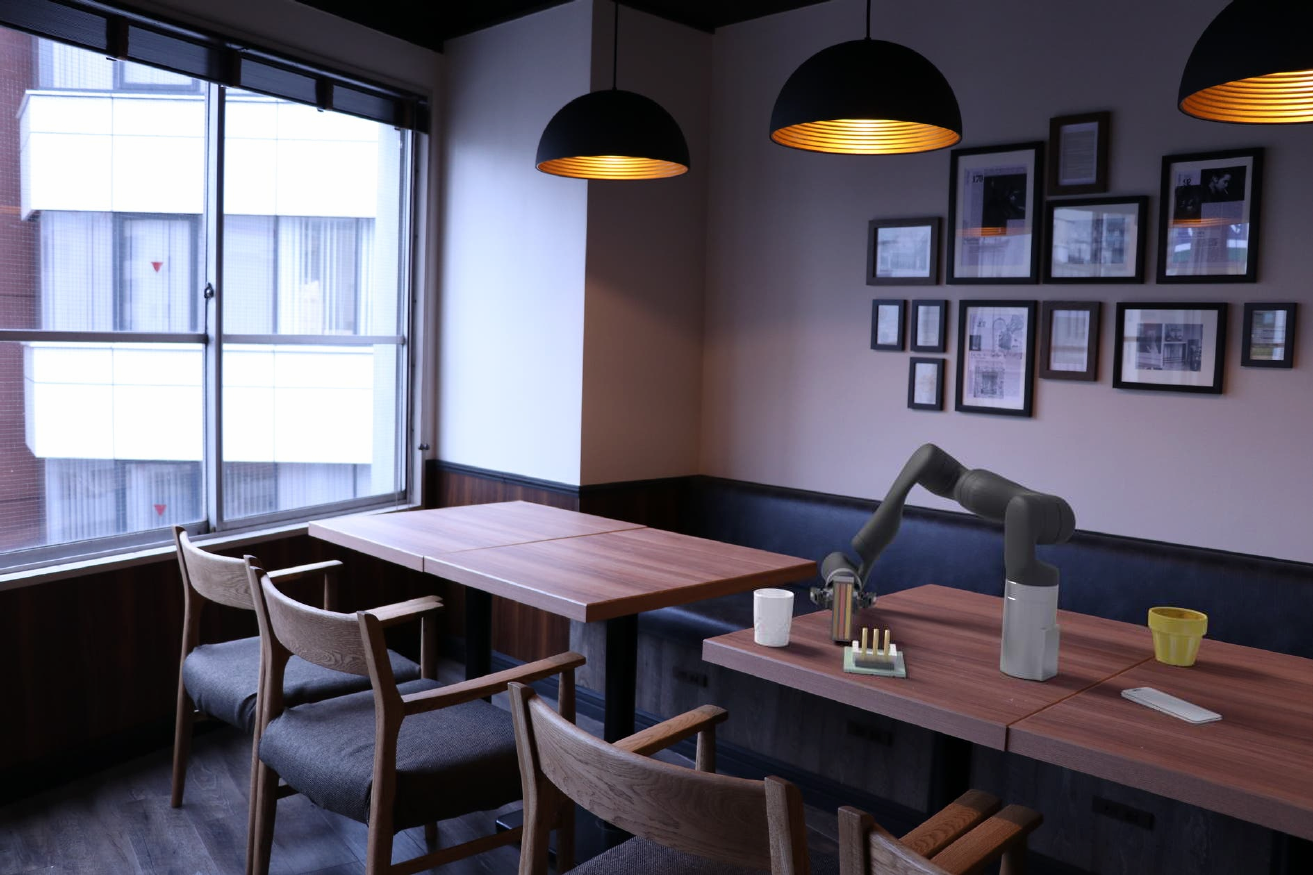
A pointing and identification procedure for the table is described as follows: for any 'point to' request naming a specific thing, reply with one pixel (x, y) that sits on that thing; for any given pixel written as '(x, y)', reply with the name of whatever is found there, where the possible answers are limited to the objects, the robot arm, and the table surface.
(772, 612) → the white cup
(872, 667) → the header board
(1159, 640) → the plant pot
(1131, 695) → the smartphone
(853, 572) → the robot arm
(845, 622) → the block
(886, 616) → the table surface
